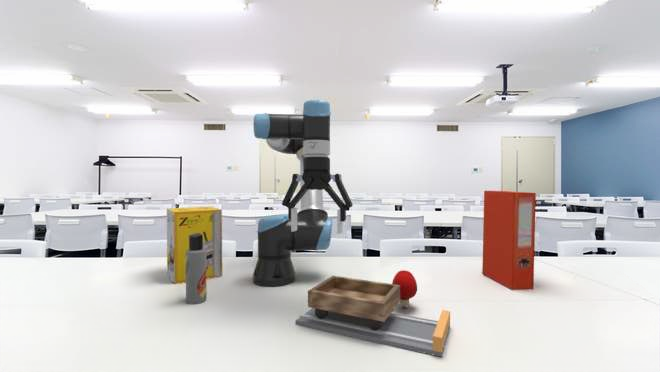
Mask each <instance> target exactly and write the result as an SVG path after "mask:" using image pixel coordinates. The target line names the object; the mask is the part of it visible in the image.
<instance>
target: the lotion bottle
mask: <svg viewBox="0 0 660 372" xmlns="http://www.w3.org/2000/svg"><path fill="white" fill-rule="evenodd" d="M207 295H208V293H207V279H206V249H203V235H202V234H201V233H196V234H192V235H189V250H187V251H186V282H185V301H186V303H187V304H189V305H196V304H197V305H198V304H201V303H203V302H206V300H207Z"/></svg>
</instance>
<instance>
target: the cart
mask: <svg viewBox="0 0 660 372" xmlns="http://www.w3.org/2000/svg"><path fill="white" fill-rule="evenodd" d="M398 304H400V285H395V284H392V283H387V282H380V281H374V280H368V279H367V280H365V279H359V278H352V277H347V276H346V277H345V276H338V275H331V276H329V277H328V278H327V279H325V280H323V281H322V282H320V283H318V284H317V285H315V286H313V287H312V288H311V289H308V290H307V308H310V309H312V308H316V309H315V315H316V316H317V317H318V318H319V319H323V318H324V317H326V316H327V315H328V311H331V312H336V313H341V314H346V315H352V316H357V317H362V318H367V319H369V321H368V325H369V327H370V328H371V329H372V330H378V329H380V327H381V326H382V324H383V322H384V321H385V320H386V319H387V317H388V316H389V315H390V313H393V312H394V310H395V308H396V307H397V305H398Z"/></svg>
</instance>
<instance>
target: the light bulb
mask: <svg viewBox="0 0 660 372" xmlns="http://www.w3.org/2000/svg"><path fill="white" fill-rule="evenodd" d="M391 284H395V285H400V301H399V306H400V307H401V308H402V309H406V308H408V307H409V306H410V300H411V299H412V298H414V297H415V296H416V295H417V293H418V283H417V279H416V278H415V276H414V275H413V273H412V272H411V271H410V270H399V271H398V272H397V273H396V274H395V275H394V277H393V278H392V283H391Z"/></svg>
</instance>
